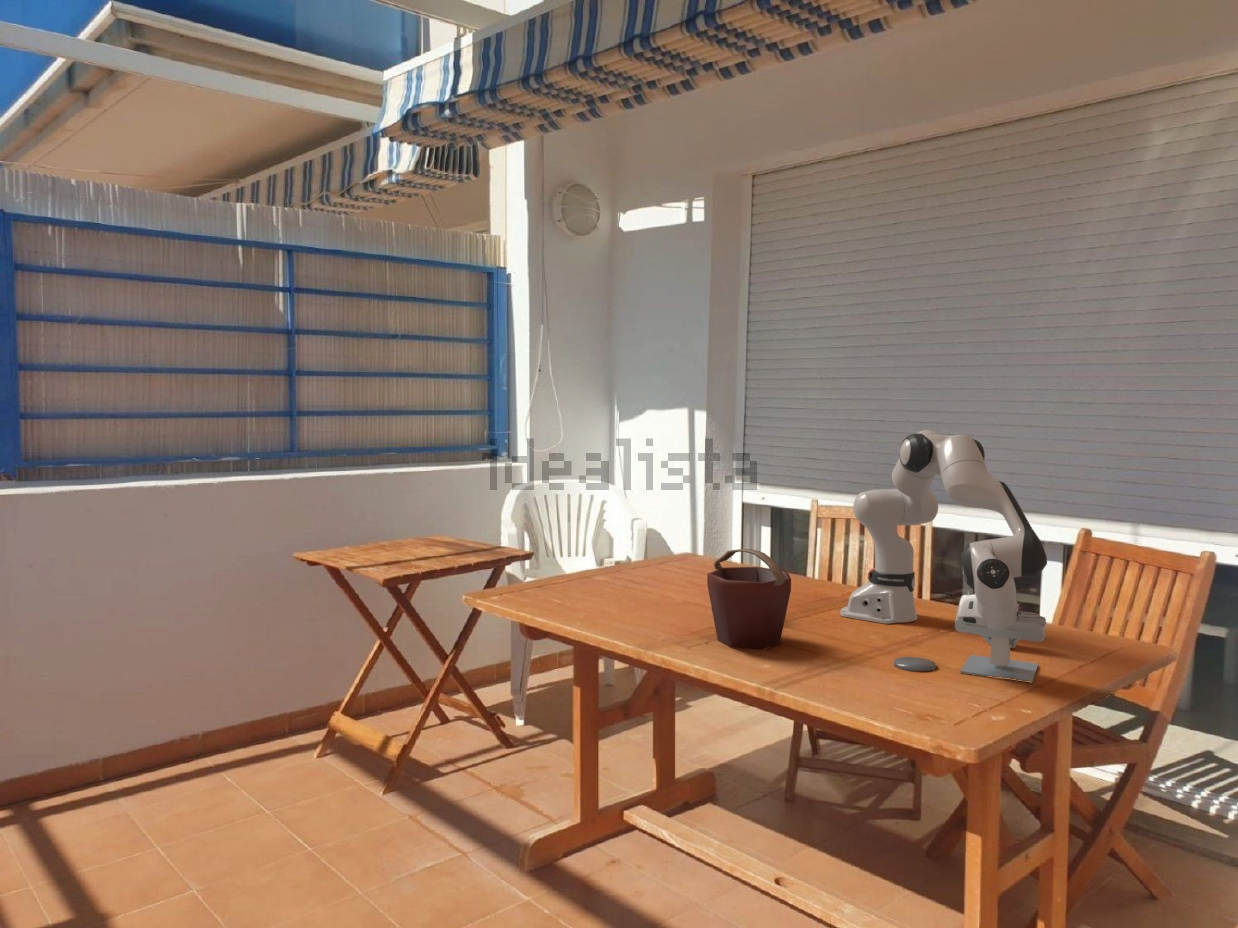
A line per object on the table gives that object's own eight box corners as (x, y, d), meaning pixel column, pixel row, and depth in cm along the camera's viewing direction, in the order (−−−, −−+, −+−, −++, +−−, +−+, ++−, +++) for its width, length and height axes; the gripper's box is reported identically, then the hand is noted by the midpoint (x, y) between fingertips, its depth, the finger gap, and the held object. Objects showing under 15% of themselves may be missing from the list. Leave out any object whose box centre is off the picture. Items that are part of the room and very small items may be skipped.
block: (990, 663, 229) (991, 627, 228) (992, 659, 232) (993, 624, 232) (1007, 666, 227) (1009, 629, 226) (1009, 661, 230) (1011, 626, 230)
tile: (960, 673, 227) (960, 670, 227) (970, 656, 241) (970, 654, 241) (1032, 683, 219) (1032, 680, 219) (1038, 665, 233) (1038, 663, 233)
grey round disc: (889, 667, 231) (889, 664, 231) (898, 657, 240) (898, 654, 240) (931, 674, 226) (931, 670, 226) (939, 663, 235) (939, 660, 235)
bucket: (695, 633, 263) (695, 545, 261) (764, 626, 271) (765, 541, 269) (735, 656, 240) (737, 560, 238) (810, 648, 248) (811, 555, 246)
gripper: (1046, 604, 217) (1048, 635, 227) (954, 594, 227) (959, 625, 236) (1044, 627, 214) (1046, 658, 223) (950, 616, 224) (956, 646, 233)
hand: (1001, 641), depth 230 cm, fingers closed on block, 4 cm apart
